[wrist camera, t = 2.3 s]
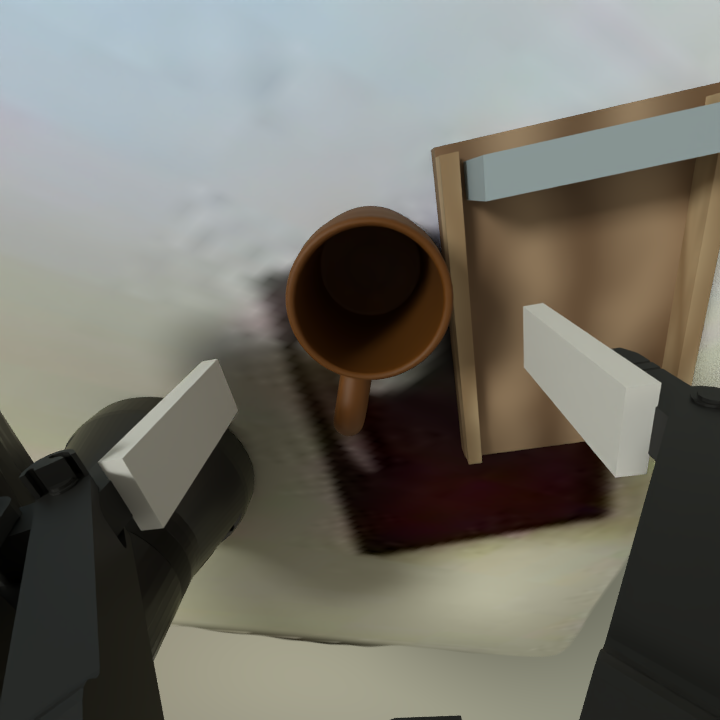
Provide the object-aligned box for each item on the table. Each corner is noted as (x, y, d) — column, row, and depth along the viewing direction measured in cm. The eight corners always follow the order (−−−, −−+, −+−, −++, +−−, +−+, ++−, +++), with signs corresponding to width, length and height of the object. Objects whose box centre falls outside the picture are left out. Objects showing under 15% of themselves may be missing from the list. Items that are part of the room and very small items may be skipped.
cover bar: (466, 199, 21) (485, 201, 17) (463, 161, 20) (483, 154, 17) (688, 152, 20) (759, 144, 16) (695, 109, 19) (772, 90, 15)
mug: (401, 381, 28) (414, 465, 19) (303, 366, 27) (272, 445, 19) (439, 215, 23) (480, 229, 14) (319, 195, 22) (287, 197, 14)
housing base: (461, 447, 30) (469, 469, 28) (431, 150, 21) (438, 144, 19) (654, 421, 28) (679, 442, 26) (709, 86, 20) (755, 71, 17)
